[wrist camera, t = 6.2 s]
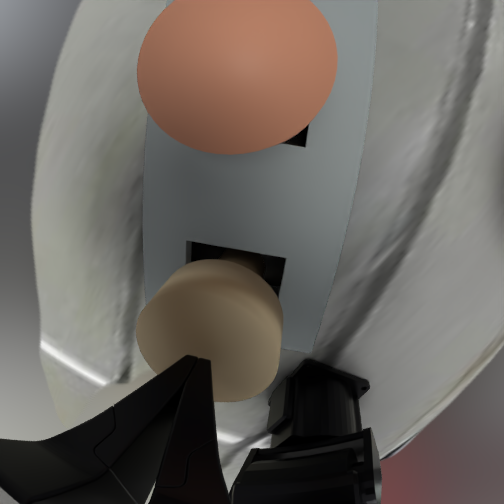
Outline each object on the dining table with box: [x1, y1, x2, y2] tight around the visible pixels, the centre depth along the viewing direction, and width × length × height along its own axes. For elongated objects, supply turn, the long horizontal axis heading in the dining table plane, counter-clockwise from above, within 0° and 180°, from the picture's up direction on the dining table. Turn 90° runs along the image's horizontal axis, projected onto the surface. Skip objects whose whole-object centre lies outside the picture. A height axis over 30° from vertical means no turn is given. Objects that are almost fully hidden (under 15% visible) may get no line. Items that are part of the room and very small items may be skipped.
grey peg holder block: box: [143, 0, 378, 353], centre depth 12 cm, size 9×24×5 cm, turn 173°
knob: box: [136, 248, 283, 402], centre depth 13 cm, size 5×5×7 cm
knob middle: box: [137, 0, 338, 155], centre depth 9 cm, size 5×5×7 cm
